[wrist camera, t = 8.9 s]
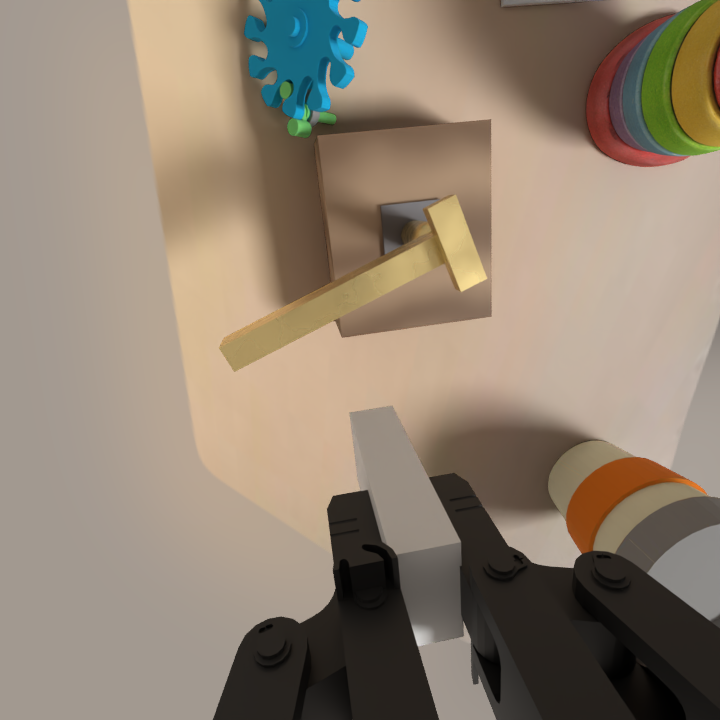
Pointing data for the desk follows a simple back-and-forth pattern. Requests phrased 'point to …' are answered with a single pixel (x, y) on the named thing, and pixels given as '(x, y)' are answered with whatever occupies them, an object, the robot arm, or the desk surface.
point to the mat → (536, 2)
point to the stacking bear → (660, 90)
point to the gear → (304, 57)
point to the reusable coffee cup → (642, 519)
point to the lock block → (404, 214)
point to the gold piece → (367, 283)
